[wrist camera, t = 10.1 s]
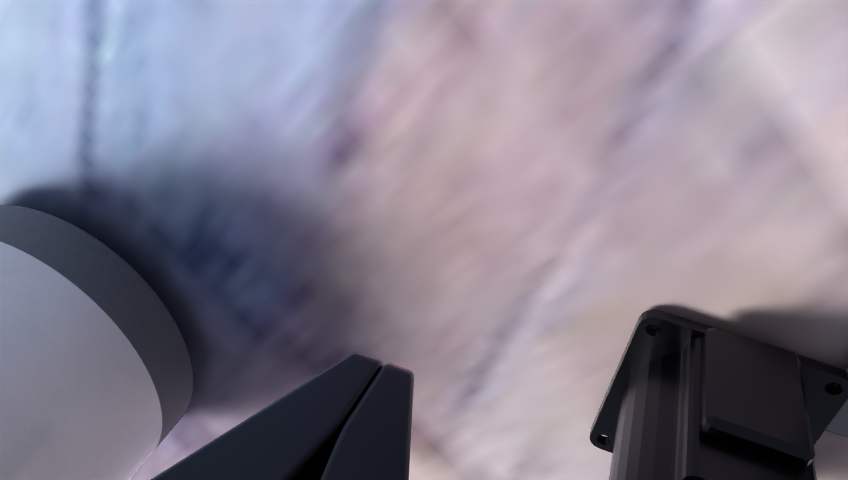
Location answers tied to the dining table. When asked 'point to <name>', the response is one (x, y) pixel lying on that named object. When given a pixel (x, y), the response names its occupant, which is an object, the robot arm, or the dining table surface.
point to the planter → (81, 356)
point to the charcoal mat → (840, 419)
